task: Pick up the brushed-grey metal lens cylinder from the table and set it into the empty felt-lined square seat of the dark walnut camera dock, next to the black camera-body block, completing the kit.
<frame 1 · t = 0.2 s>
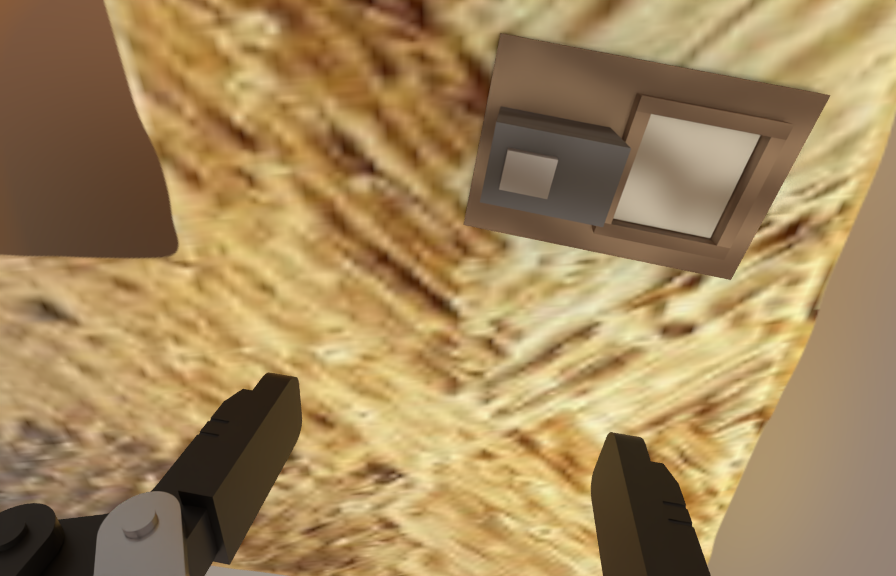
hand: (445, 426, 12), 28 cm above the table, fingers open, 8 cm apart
dock: (622, 163, 35), on the table
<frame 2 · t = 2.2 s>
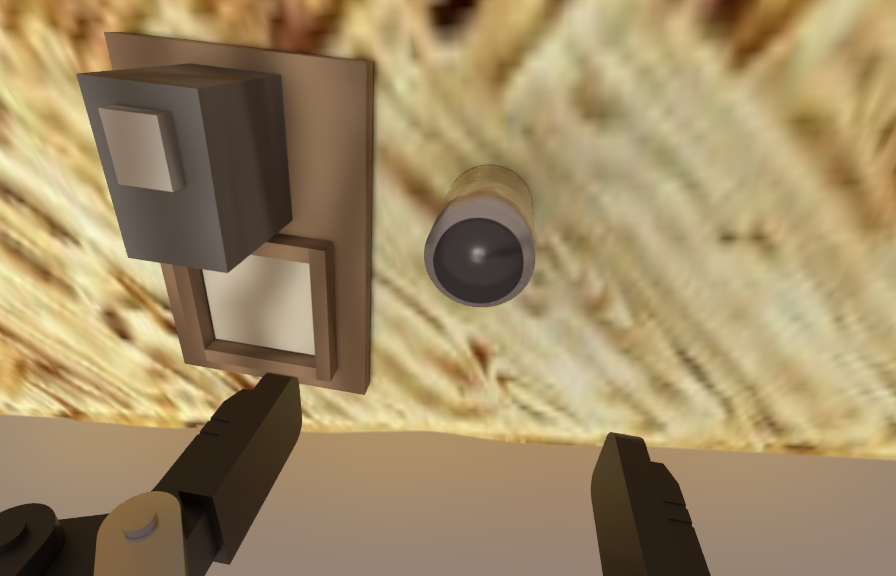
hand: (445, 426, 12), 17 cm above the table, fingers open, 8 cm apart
lens: (488, 208, 27), on the table
dock: (266, 237, 30), on the table
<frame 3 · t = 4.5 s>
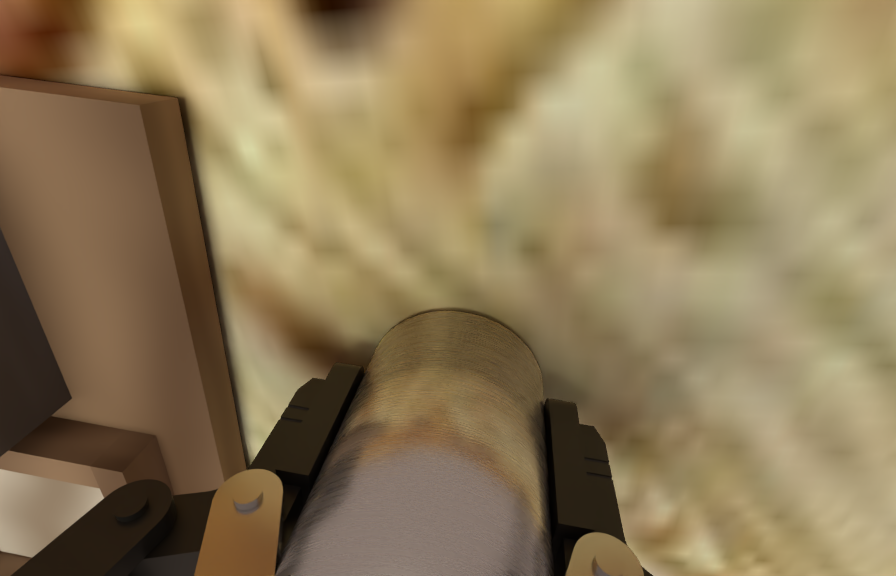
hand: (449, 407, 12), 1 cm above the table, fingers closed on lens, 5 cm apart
lens: (454, 384, 13), on the table, touching gripper
dock: (53, 405, 16), on the table
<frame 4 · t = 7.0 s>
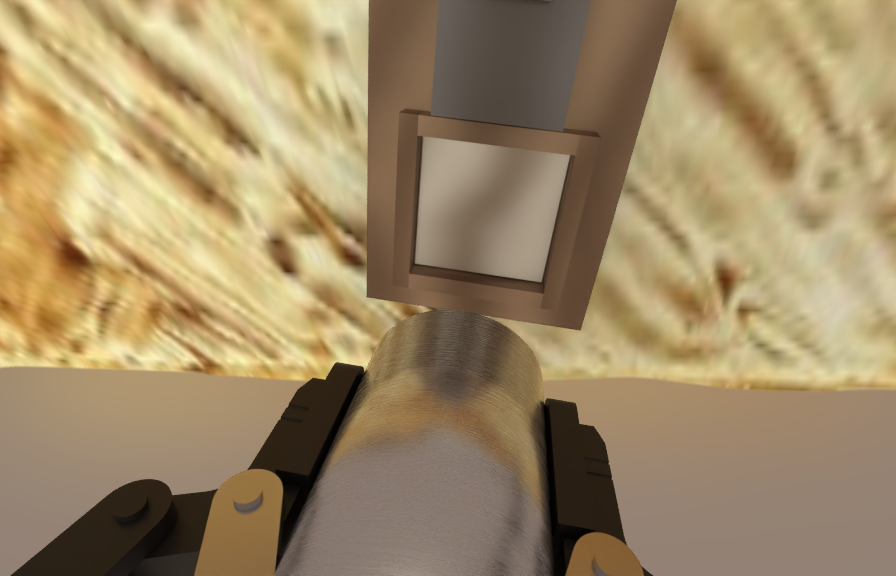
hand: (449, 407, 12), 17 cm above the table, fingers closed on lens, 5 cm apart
lens: (454, 383, 13), point 16 cm above the table, touching gripper
dock: (497, 135, 25), on the table
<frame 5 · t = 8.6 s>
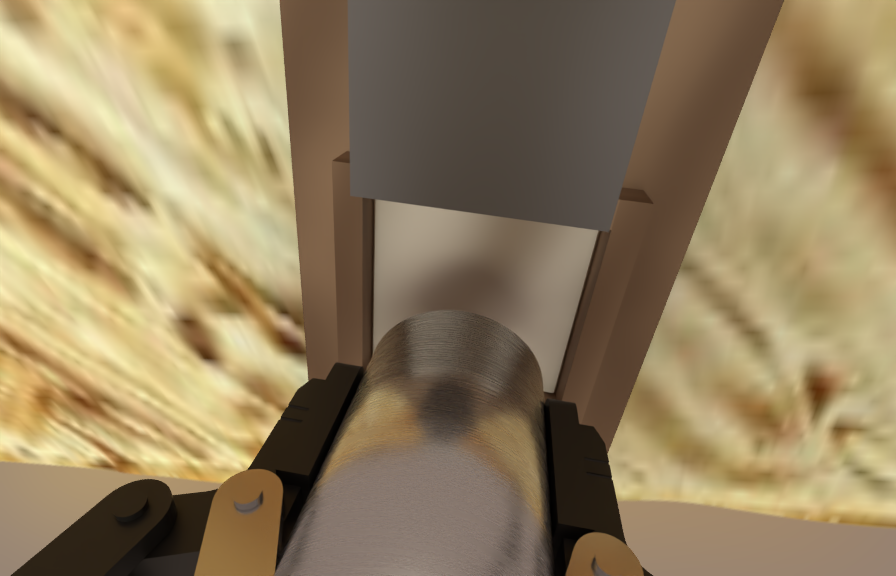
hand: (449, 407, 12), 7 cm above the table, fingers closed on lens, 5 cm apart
lens: (454, 383, 13), point 6 cm above the table, touching gripper
dock: (489, 188, 17), on the table
when the fingers open (4 cm above the table, at t = 9.9 s): lens drops 1 cm, resting on dock.
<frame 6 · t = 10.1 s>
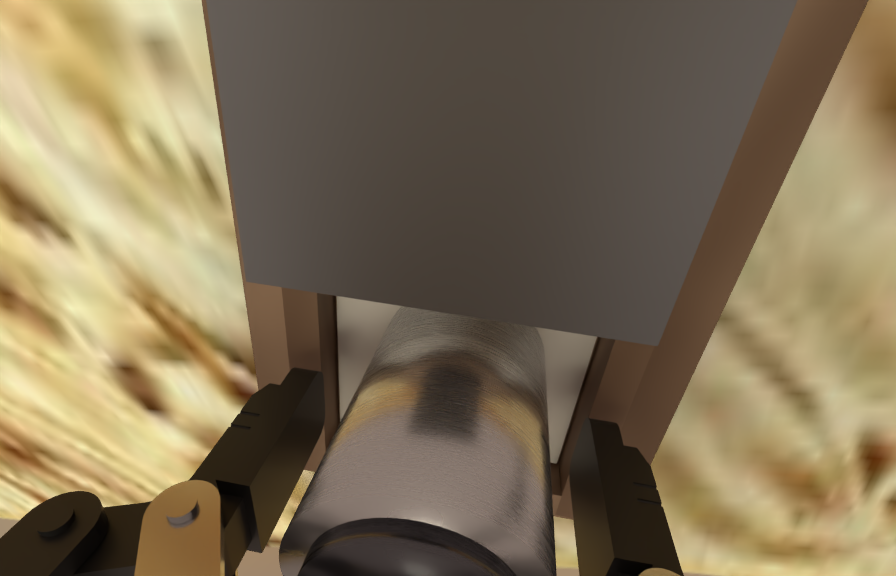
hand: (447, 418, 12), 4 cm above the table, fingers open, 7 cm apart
lens: (462, 357, 14), point 1 cm above the table, touching dock
dock: (478, 222, 14), on the table
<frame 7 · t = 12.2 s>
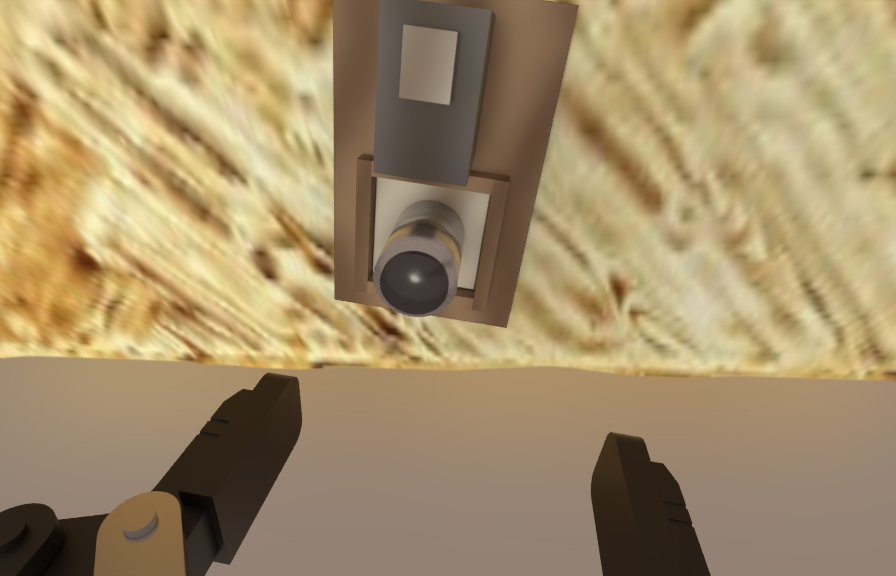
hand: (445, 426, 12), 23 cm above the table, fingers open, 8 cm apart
lens: (429, 233, 33), point 1 cm above the table, touching dock
dock: (436, 174, 32), on the table
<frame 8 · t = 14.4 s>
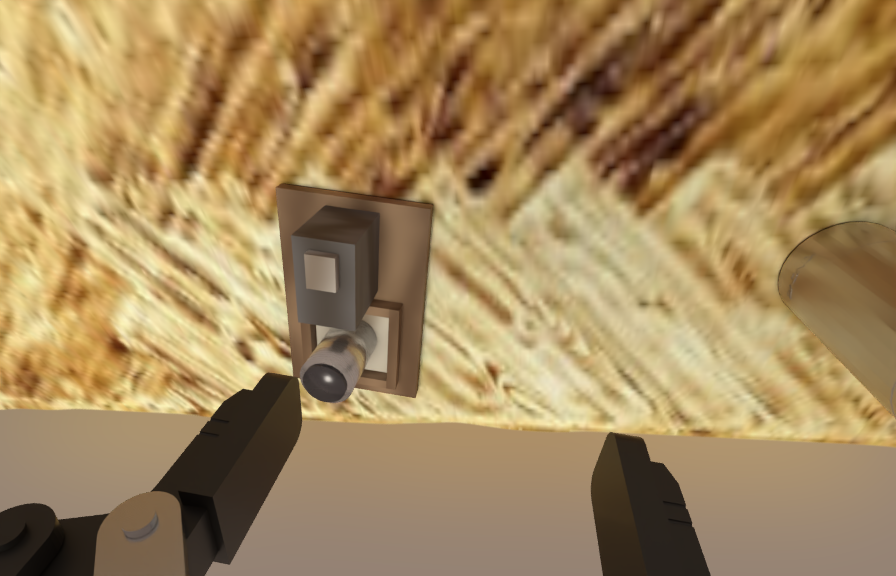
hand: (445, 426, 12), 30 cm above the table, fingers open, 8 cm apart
lens: (353, 337, 47), point 2 cm above the table, touching dock
dock: (356, 298, 47), on the table
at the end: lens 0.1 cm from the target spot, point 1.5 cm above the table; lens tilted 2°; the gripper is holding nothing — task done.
